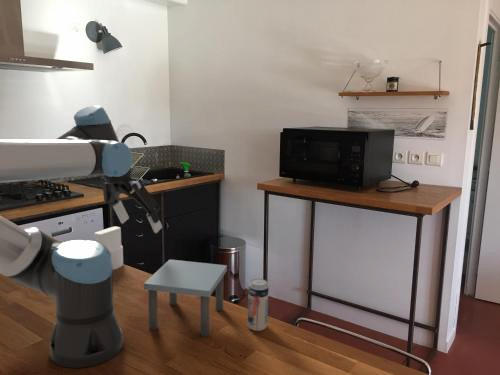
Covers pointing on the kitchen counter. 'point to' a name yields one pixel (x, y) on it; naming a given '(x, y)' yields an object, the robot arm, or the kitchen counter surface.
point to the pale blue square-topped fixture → (187, 287)
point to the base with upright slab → (112, 244)
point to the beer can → (258, 304)
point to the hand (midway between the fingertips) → (141, 225)
